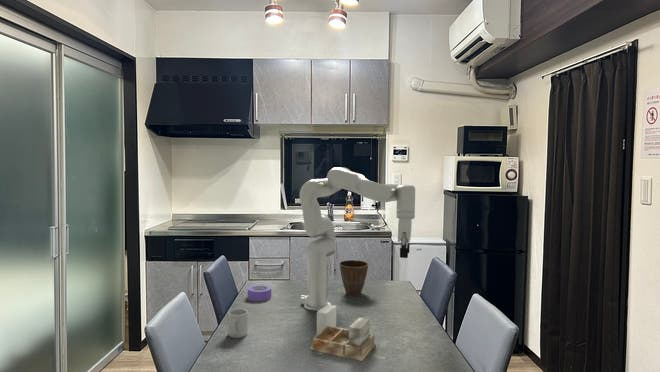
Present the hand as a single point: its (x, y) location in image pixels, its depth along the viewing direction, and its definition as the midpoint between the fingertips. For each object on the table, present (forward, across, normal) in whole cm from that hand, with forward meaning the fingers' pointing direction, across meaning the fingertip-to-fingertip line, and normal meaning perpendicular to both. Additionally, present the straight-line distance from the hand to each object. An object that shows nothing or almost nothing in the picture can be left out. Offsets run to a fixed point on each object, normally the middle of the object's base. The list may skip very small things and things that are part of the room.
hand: (404, 255), depth 171 cm
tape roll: (+30, -15, -72) cm, 80 cm away
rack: (+29, +29, -19) cm, 46 cm away
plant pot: (+29, -34, -28) cm, 53 cm away
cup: (+30, +31, -61) cm, 75 cm away
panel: (+29, +16, -29) cm, 44 cm away
